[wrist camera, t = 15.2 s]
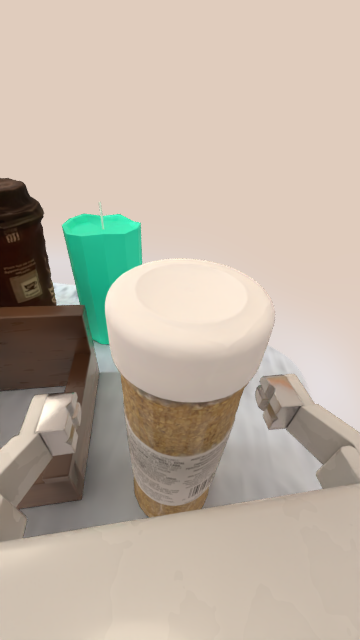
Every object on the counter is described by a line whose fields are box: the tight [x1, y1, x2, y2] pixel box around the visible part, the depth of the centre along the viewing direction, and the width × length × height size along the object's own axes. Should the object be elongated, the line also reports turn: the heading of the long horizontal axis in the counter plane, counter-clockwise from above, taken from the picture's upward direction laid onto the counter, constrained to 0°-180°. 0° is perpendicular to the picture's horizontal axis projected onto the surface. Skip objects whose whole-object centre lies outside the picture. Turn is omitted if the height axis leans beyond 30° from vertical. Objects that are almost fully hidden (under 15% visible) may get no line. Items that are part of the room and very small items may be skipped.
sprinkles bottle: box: [105, 259, 275, 517], centre depth 11 cm, size 5×5×13 cm
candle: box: [62, 202, 142, 344], centre depth 22 cm, size 6×6×12 cm
